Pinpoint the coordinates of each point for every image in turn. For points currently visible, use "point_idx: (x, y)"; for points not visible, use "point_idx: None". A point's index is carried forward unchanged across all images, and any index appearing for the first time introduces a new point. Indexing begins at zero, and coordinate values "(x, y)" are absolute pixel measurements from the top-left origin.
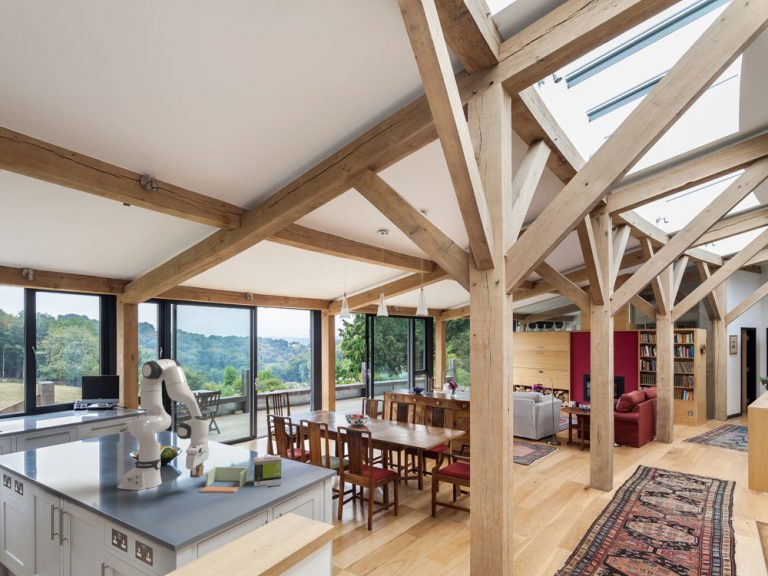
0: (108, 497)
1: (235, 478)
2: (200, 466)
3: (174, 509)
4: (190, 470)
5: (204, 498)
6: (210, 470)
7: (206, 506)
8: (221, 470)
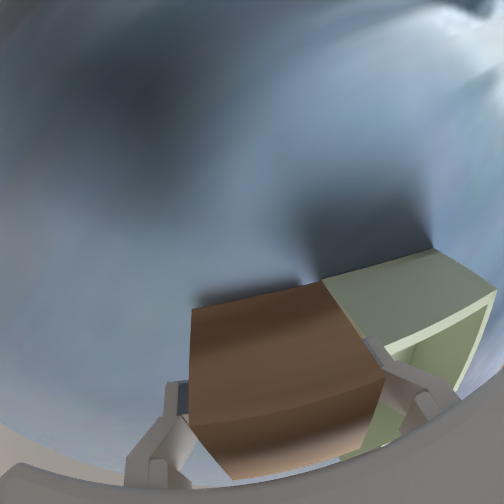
0: None
1: (419, 362)
2: (305, 459)
3: (7, 309)
4: (189, 381)
5: (168, 365)
6: (441, 322)
7: (100, 407)
8: (464, 325)
